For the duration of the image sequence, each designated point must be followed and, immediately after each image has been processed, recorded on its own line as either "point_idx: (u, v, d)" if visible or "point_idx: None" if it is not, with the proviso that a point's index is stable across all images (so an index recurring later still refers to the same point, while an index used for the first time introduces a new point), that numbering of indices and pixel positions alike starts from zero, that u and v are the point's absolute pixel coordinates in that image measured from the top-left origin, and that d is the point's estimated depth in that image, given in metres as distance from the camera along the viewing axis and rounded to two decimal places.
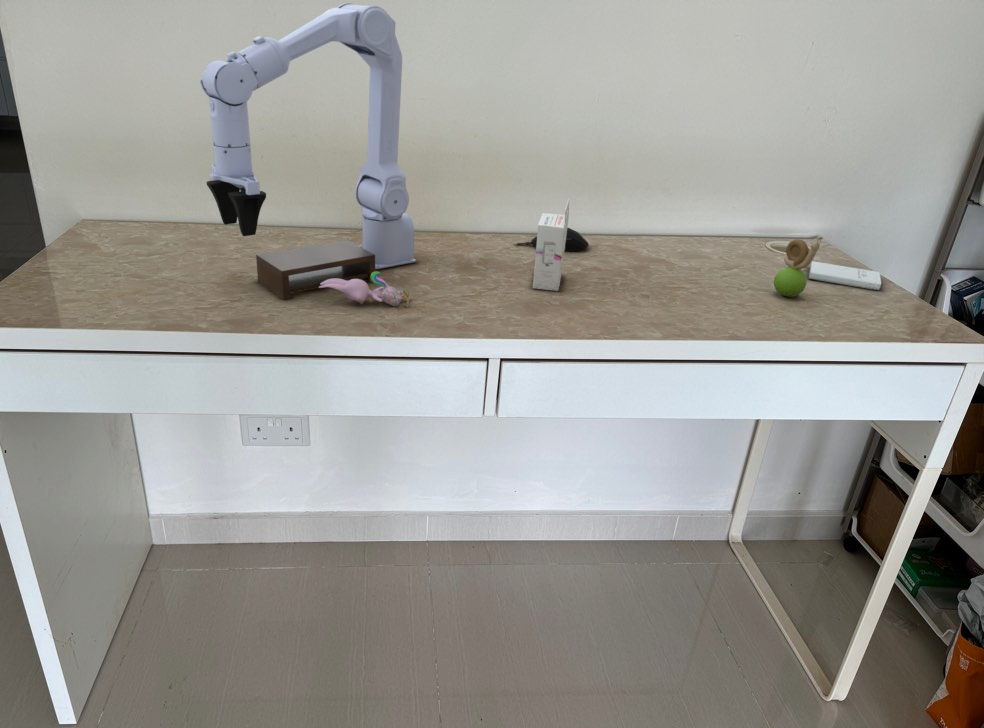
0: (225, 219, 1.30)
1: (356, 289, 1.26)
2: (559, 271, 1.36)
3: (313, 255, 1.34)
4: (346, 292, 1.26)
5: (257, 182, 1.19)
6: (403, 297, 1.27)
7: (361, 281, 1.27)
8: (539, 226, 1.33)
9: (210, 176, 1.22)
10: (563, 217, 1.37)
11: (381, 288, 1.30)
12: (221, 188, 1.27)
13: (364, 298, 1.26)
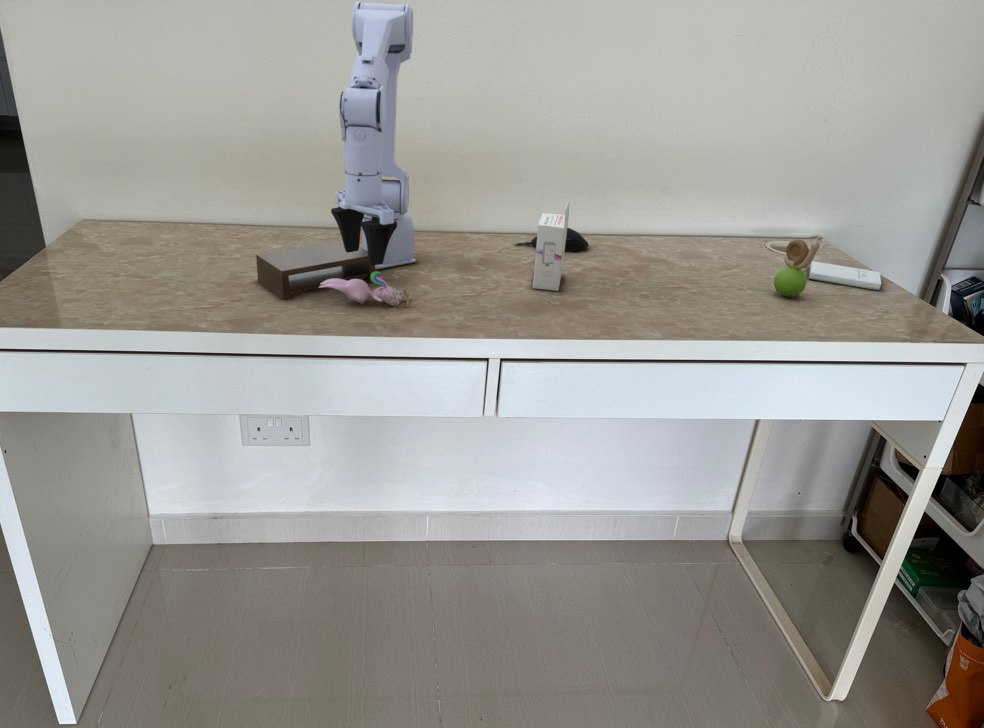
0: (348, 247, 1.26)
1: (356, 289, 1.26)
2: (559, 271, 1.36)
3: (313, 255, 1.34)
4: (346, 292, 1.26)
5: (392, 211, 1.16)
6: (403, 297, 1.27)
7: (361, 281, 1.27)
8: (539, 226, 1.33)
9: (341, 205, 1.18)
10: (563, 217, 1.37)
11: (381, 288, 1.30)
12: (346, 216, 1.24)
13: (364, 298, 1.26)
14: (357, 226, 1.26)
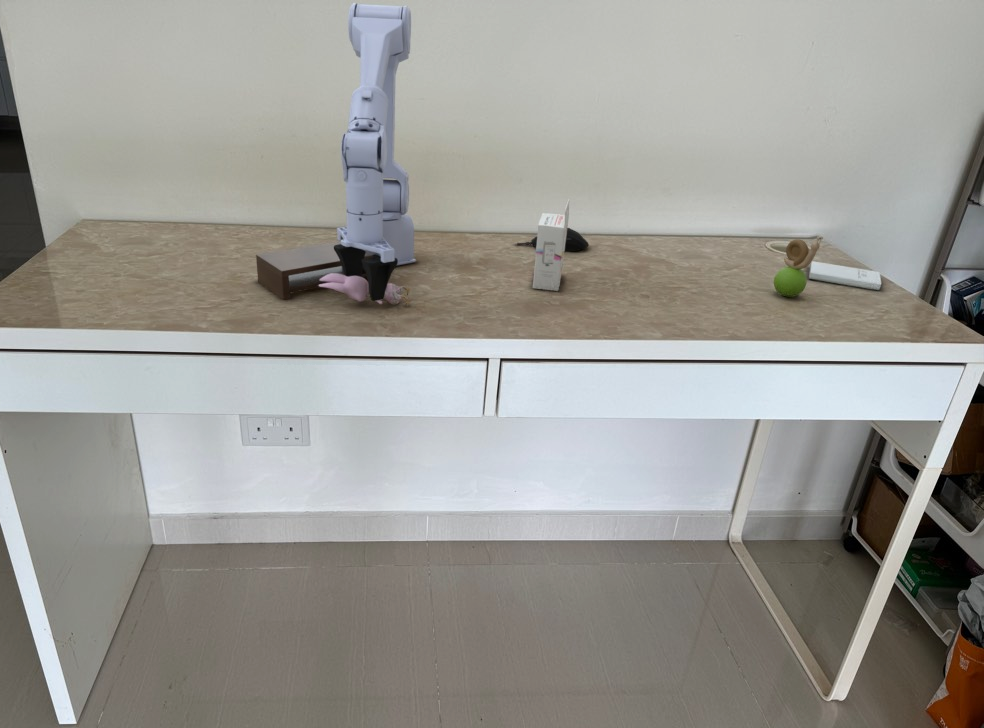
0: None
1: (356, 290, 1.25)
2: (559, 271, 1.36)
3: (313, 255, 1.34)
4: (346, 292, 1.26)
5: (393, 250, 1.19)
6: (403, 297, 1.27)
7: (361, 280, 1.26)
8: (539, 226, 1.33)
9: (343, 242, 1.21)
10: (563, 217, 1.37)
11: None
12: (348, 252, 1.27)
13: (364, 298, 1.26)
14: (359, 262, 1.29)
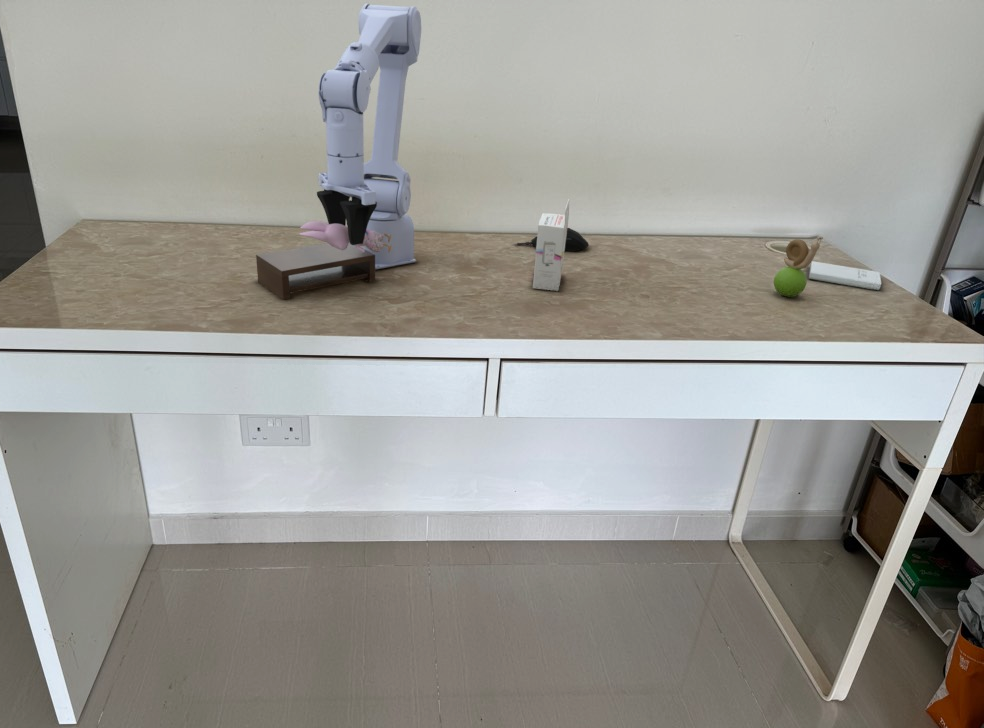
0: None
1: (337, 239, 1.24)
2: (559, 271, 1.36)
3: (313, 255, 1.34)
4: (327, 241, 1.25)
5: (373, 192, 1.18)
6: (385, 245, 1.26)
7: (342, 229, 1.25)
8: (539, 226, 1.33)
9: (323, 186, 1.20)
10: (563, 217, 1.37)
11: None
12: (332, 198, 1.25)
13: (346, 246, 1.26)
14: (343, 209, 1.27)
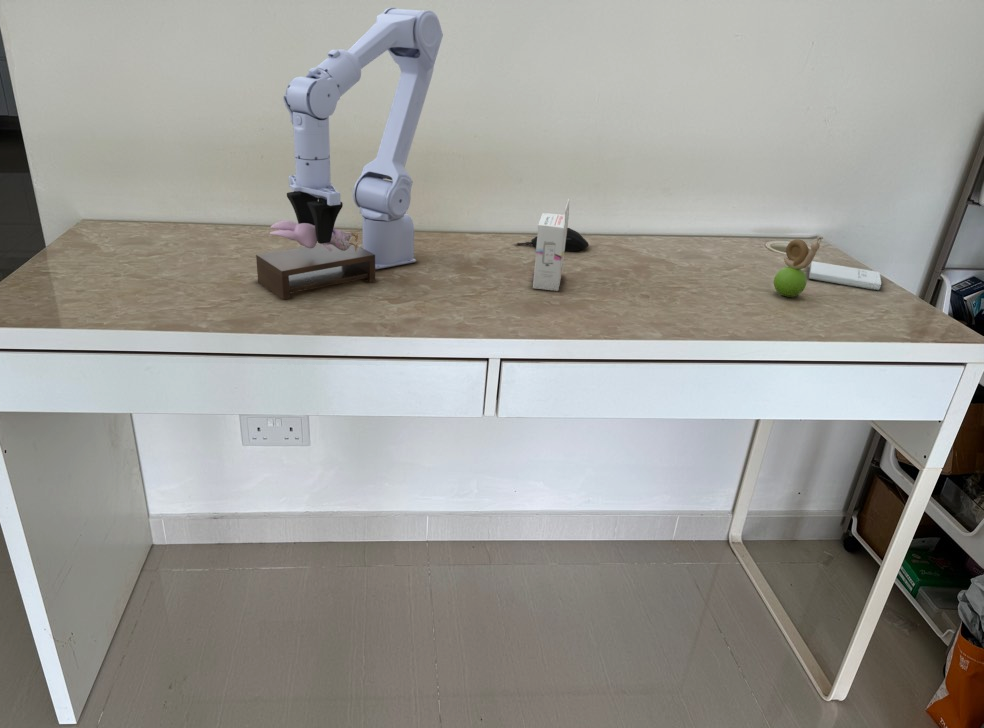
0: None
1: (305, 237, 1.30)
2: (559, 271, 1.36)
3: (313, 255, 1.34)
4: (296, 240, 1.31)
5: (338, 193, 1.24)
6: (351, 244, 1.32)
7: (310, 228, 1.31)
8: (539, 226, 1.33)
9: (291, 187, 1.26)
10: (563, 217, 1.37)
11: None
12: (301, 199, 1.31)
13: (314, 245, 1.32)
14: None
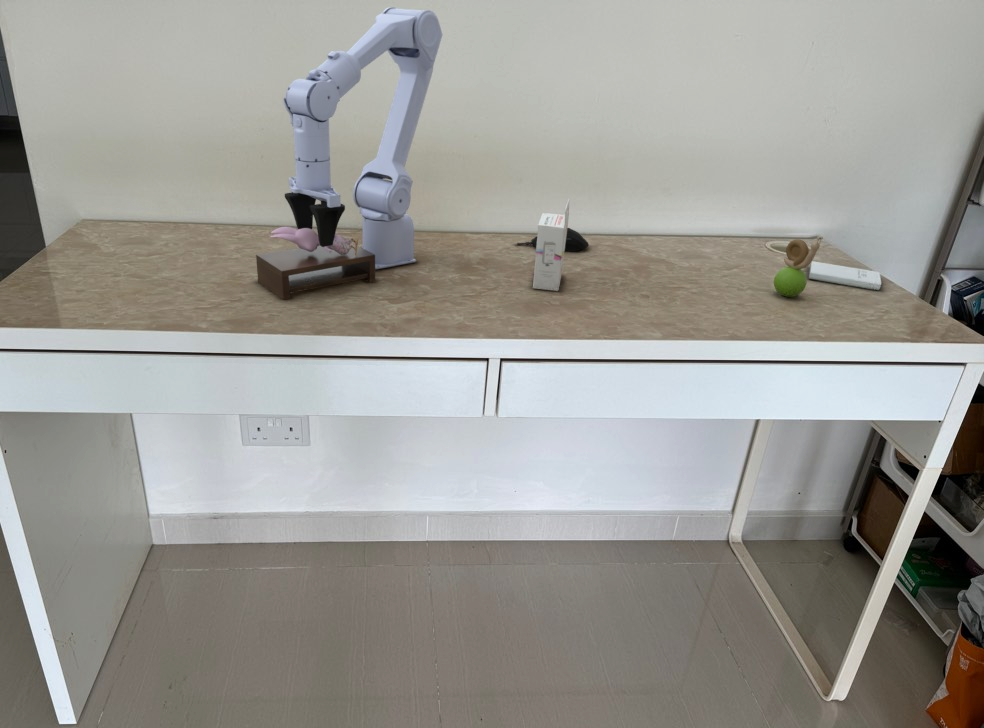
0: None
1: (306, 239, 1.31)
2: (559, 271, 1.36)
3: (313, 255, 1.34)
4: (296, 242, 1.31)
5: (338, 195, 1.24)
6: (351, 247, 1.33)
7: (311, 231, 1.32)
8: (539, 226, 1.33)
9: (291, 189, 1.26)
10: (563, 217, 1.37)
11: None
12: (298, 200, 1.32)
13: (314, 248, 1.32)
14: (310, 210, 1.34)
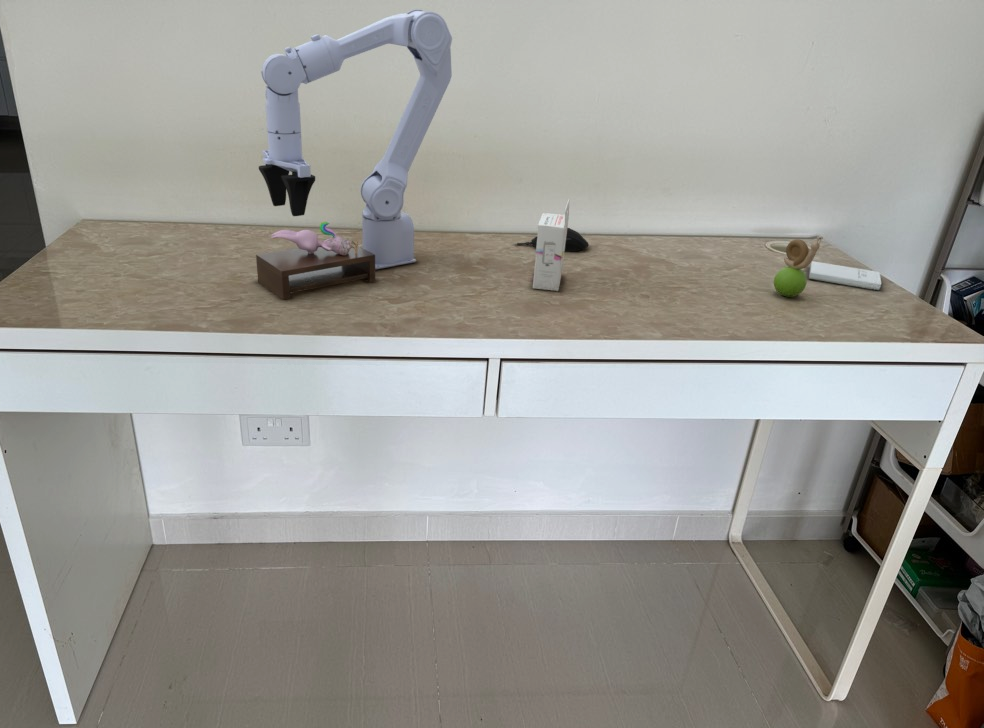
0: (275, 201, 1.40)
1: (306, 239, 1.32)
2: (559, 271, 1.36)
3: (313, 255, 1.34)
4: (296, 242, 1.32)
5: (308, 166, 1.30)
6: (351, 246, 1.33)
7: (311, 231, 1.33)
8: (539, 226, 1.33)
9: (264, 160, 1.32)
10: (563, 217, 1.37)
11: (330, 239, 1.36)
12: (272, 172, 1.38)
13: (314, 247, 1.32)
14: (283, 182, 1.40)
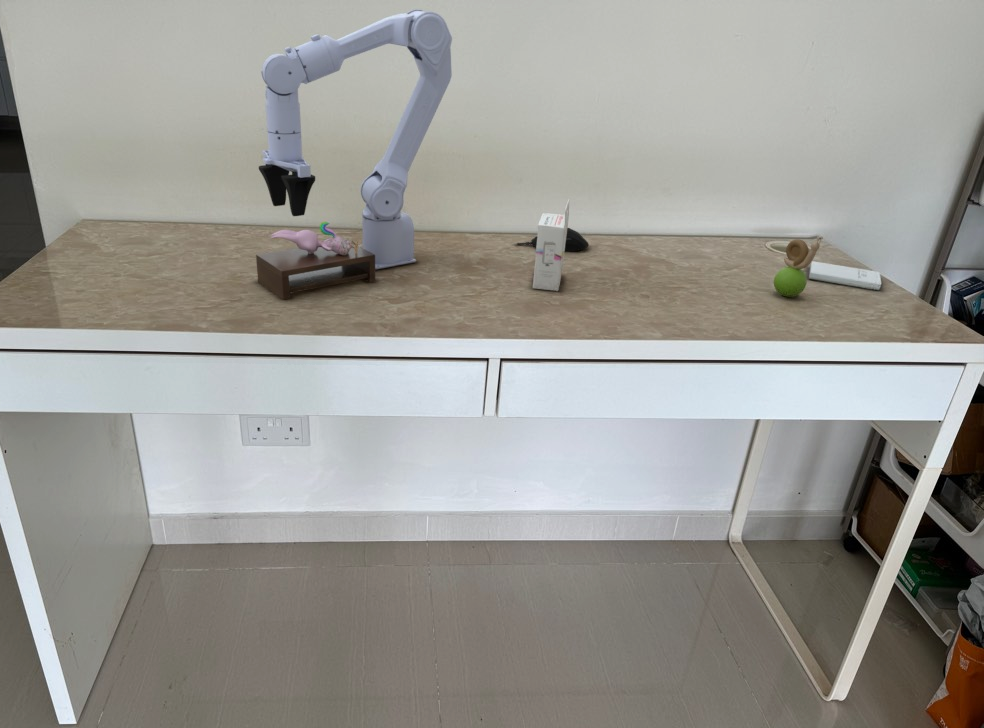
0: (275, 201, 1.40)
1: (306, 239, 1.32)
2: (559, 271, 1.36)
3: (313, 255, 1.34)
4: (296, 242, 1.32)
5: (308, 166, 1.30)
6: (351, 246, 1.33)
7: (311, 231, 1.33)
8: (539, 226, 1.33)
9: (264, 160, 1.32)
10: (563, 217, 1.37)
11: (330, 239, 1.36)
12: (272, 172, 1.38)
13: (314, 247, 1.32)
14: (283, 182, 1.40)
